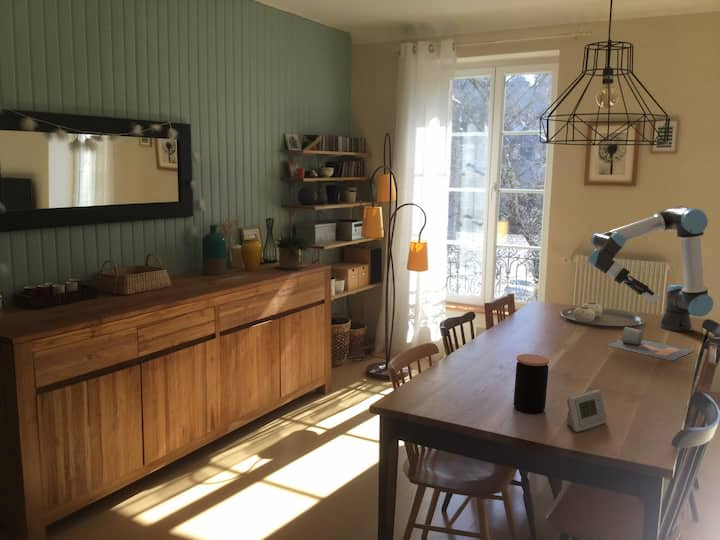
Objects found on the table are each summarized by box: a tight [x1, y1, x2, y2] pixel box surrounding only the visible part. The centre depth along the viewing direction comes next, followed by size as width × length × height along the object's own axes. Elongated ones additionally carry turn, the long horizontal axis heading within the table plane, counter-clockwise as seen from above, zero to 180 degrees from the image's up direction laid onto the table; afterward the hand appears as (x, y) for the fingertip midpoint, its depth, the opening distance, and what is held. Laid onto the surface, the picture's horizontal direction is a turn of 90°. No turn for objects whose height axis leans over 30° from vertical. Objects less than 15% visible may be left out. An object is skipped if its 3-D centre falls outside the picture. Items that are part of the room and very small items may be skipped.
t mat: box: [606, 339, 694, 362], centre depth 305 cm, size 24×30×1 cm
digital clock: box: [566, 389, 608, 433], centre depth 213 cm, size 16×9×11 cm, turn 113°
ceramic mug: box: [621, 326, 644, 345], centre depth 312 cm, size 11×8×8 cm
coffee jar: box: [512, 353, 550, 415], centre depth 225 cm, size 11×11×18 cm
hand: (657, 300), depth 311 cm, fingers open, 13 cm apart
